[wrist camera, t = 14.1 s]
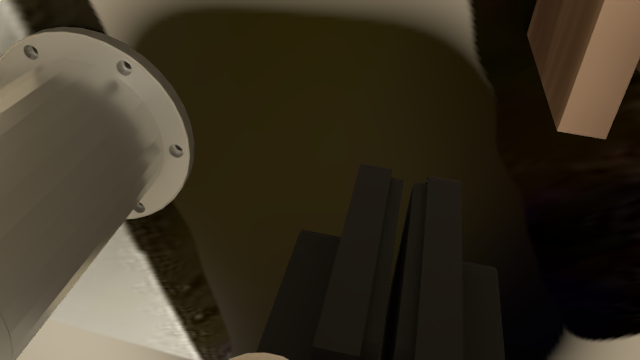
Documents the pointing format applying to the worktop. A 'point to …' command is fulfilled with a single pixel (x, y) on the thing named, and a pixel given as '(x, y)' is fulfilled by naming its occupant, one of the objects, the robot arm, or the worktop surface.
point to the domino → (585, 59)
